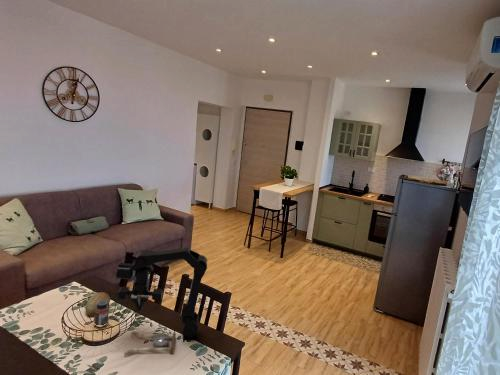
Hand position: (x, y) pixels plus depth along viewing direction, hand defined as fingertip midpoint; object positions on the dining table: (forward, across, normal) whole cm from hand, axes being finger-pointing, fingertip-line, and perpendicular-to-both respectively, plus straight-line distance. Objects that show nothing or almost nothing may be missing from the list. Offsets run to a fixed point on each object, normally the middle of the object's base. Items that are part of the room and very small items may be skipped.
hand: (139, 310), depth 147 cm
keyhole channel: (+12, -8, +8) cm, 16 cm away
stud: (+12, -11, +7) cm, 18 cm away
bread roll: (+12, +23, -18) cm, 32 cm away
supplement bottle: (+12, +18, -6) cm, 23 cm away
